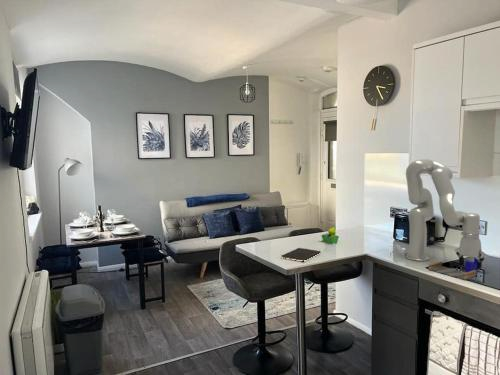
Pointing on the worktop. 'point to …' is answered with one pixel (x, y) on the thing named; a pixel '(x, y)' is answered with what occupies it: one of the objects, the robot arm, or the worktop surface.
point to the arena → (451, 271)
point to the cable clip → (471, 265)
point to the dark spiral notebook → (301, 254)
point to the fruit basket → (330, 236)
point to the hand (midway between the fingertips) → (469, 266)
